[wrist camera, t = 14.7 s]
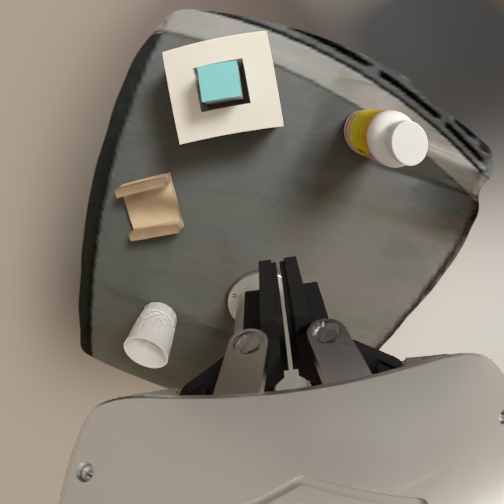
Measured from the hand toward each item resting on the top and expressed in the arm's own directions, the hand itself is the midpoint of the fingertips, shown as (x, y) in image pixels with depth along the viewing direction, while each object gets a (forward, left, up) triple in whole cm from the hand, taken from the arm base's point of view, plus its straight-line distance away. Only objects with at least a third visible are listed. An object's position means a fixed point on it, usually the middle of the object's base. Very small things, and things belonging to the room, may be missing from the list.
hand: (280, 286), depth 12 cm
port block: (+12, +3, -27) cm, 30 cm away
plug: (+12, +3, -26) cm, 29 cm away
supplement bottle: (+4, -15, -27) cm, 31 cm away
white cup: (-23, +23, -27) cm, 42 cm away
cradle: (-2, +17, -27) cm, 32 cm away
